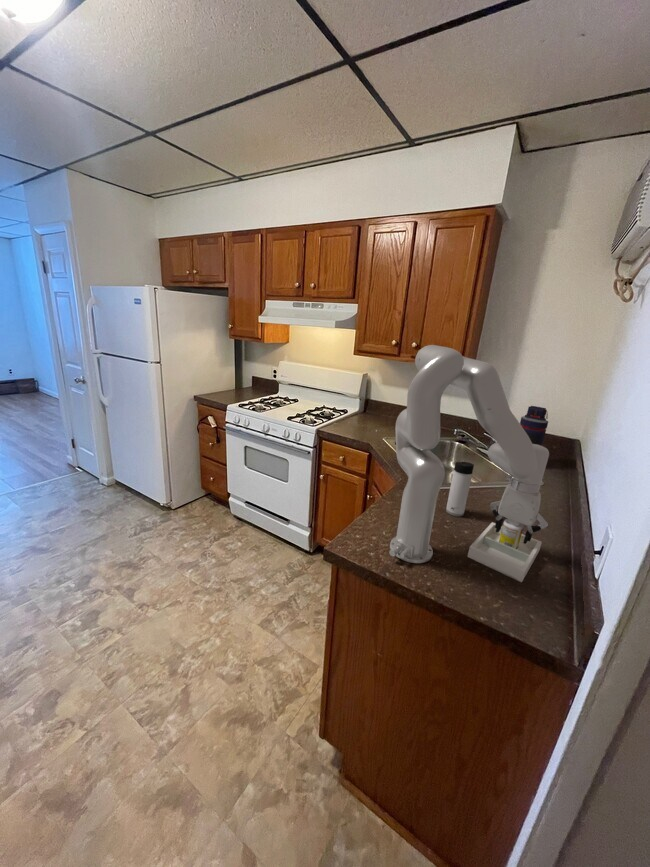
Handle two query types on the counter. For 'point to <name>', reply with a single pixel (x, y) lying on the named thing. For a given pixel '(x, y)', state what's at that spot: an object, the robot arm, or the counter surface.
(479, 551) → the bay tray
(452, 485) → the travel mug
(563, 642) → the counter surface
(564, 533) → the counter surface
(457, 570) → the counter surface
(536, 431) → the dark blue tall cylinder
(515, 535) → the supplement bottle
